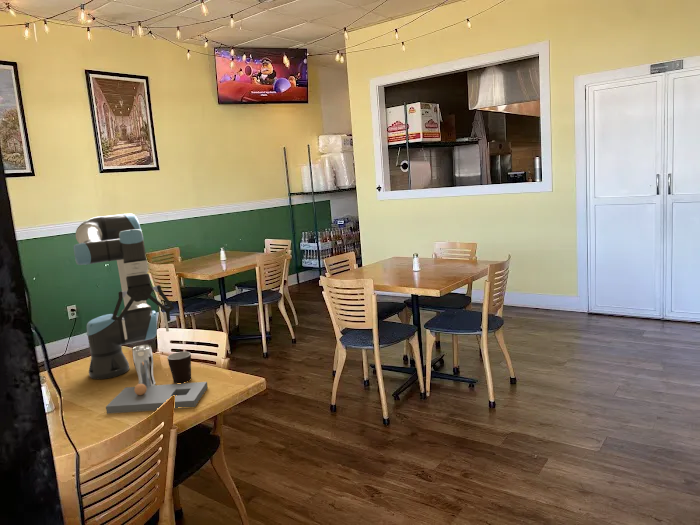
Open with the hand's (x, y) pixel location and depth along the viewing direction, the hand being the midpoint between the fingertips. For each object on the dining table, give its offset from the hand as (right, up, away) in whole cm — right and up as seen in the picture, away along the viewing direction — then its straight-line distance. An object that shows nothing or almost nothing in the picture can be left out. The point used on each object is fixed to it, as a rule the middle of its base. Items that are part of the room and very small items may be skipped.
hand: (147, 335), depth 189 cm
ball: (-3, -19, +2) cm, 20 cm away
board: (+3, -23, +3) cm, 24 cm away
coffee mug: (+7, -20, +21) cm, 30 cm away
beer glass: (-6, -22, +18) cm, 29 cm away
